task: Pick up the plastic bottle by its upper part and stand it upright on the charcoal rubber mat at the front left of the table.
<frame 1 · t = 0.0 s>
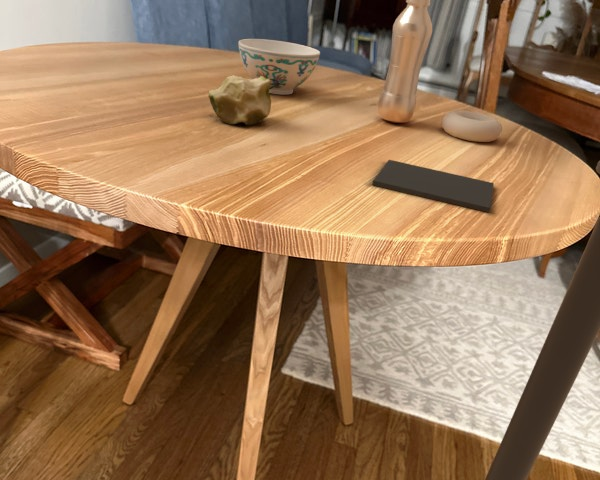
mat: (434, 186, 71), on the table
chinaware: (275, 91, 108), on the table
fruit: (240, 121, 86), on the table
donut: (468, 136, 96), on the table
plastic bottle: (393, 122, 98), on the table
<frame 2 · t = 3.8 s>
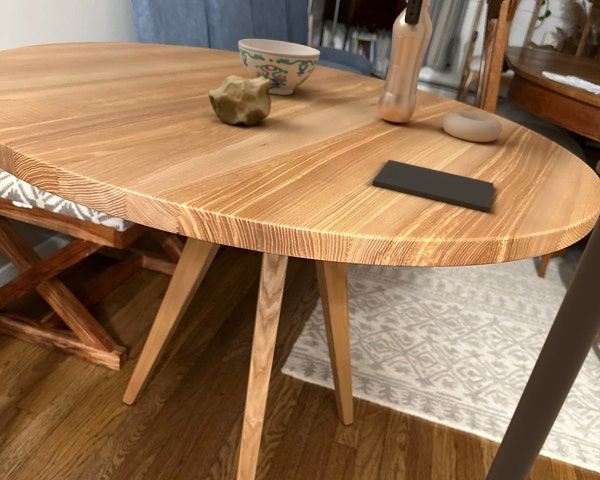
hand: (414, 22, 90), 16 cm above the table, tool pointing down, fingers closed on plastic bottle, 6 cm apart
plastic bottle: (393, 122, 98), on the table, touching gripper
everything else where it was.
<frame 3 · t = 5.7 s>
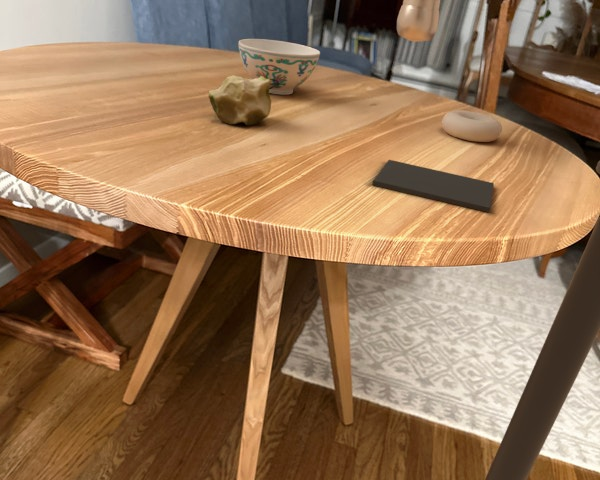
plastic bottle: (413, 42, 90), point 13 cm above the table, touching gripper
everything else where it was.
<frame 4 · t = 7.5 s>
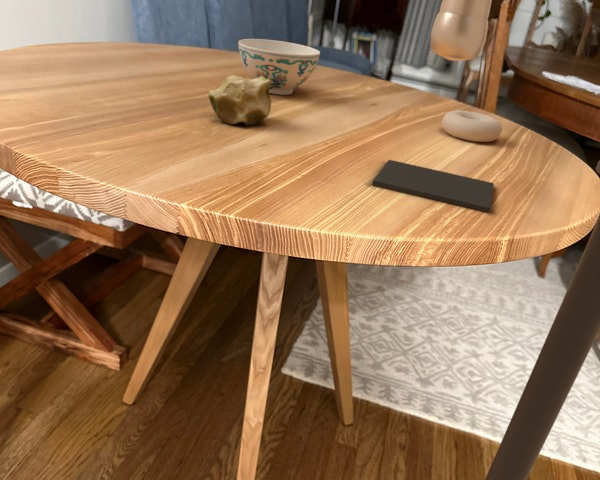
plastic bottle: (451, 61, 68), point 14 cm above the table, touching gripper
everything else where it was.
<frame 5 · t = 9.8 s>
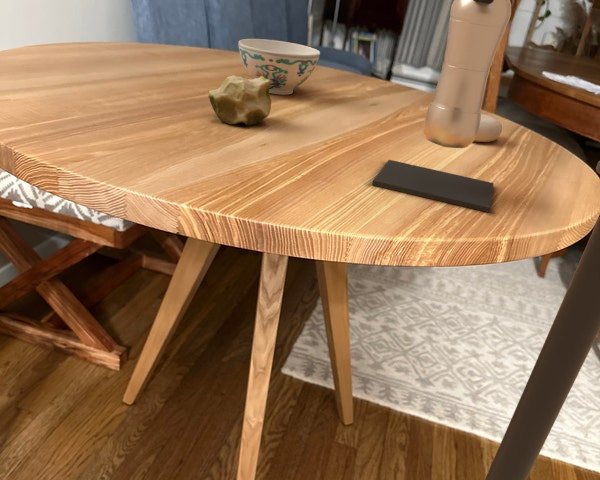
hand: (483, 1, 60), 21 cm above the table, tool pointing down, fingers closed on plastic bottle, 6 cm apart
plastic bottle: (445, 147, 68), point 5 cm above the table, touching gripper
everything else where it was.
when the fingers open (16 cm above the table, at t = 11.5 s): plastic bottle stays where it is, resting on mat.
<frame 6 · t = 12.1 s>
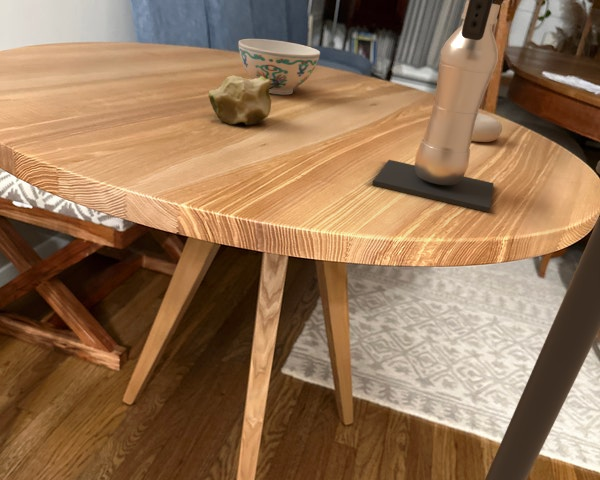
hand: (473, 36, 62), 17 cm above the table, tool pointing down, fingers open, 8 cm apart
plastic bottle: (435, 183, 71), resting on mat
everything else where it was.
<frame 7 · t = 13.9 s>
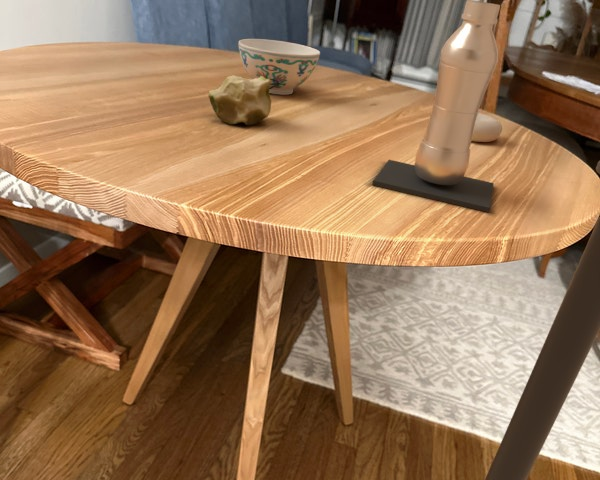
nothing on the table moved.
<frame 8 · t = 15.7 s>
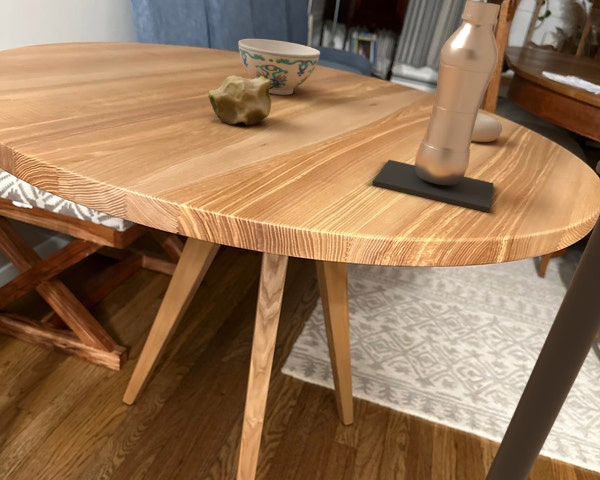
nothing on the table moved.
at the end: plastic bottle inside the target area on the mat (0.1 cm from its centre), point 0.4 cm above the mat's base; plastic bottle tilted 0°; the gripper is holding nothing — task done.
